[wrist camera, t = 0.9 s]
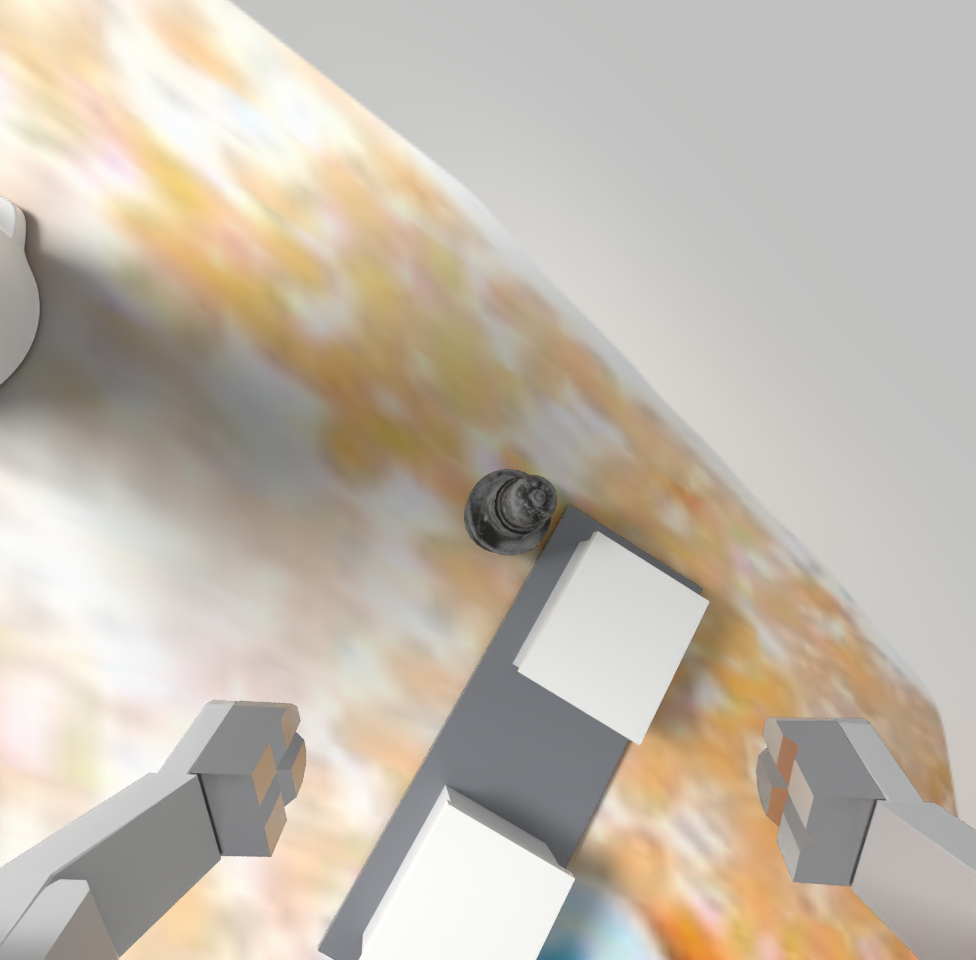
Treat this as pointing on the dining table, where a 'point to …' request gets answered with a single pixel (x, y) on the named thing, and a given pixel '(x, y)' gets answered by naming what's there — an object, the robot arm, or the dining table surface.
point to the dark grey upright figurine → (510, 511)
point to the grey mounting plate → (523, 758)
